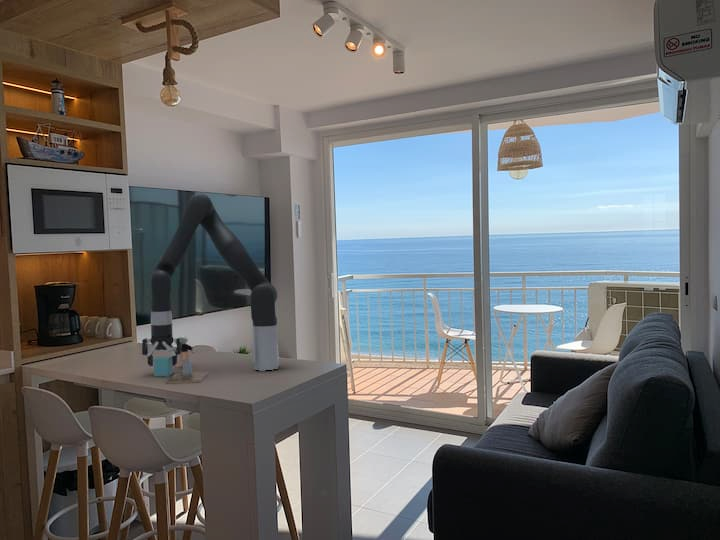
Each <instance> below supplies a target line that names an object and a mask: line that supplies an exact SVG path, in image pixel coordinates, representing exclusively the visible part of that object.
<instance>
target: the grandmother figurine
mask: <svg viewBox="0 0 720 540" xmlns="http://www.w3.org/2000/svg"><path fill="white" fill-rule="evenodd" d="M179 337H180V338H181V341H182V353H180V354H178V365H177V366H176V367H177V368H182V361H183V360H184V359H190V358H189V355H190V354H189V351H190V352H191V353H192V354H195V351H194V348H193V346H191V345H189V344H187V342H189V339H188V337H187V336H186V335H180V336H179ZM175 350H176V351H177V347H176V348H175Z"/></svg>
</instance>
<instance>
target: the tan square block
mask: <svg viewBox="0 0 720 540" xmlns="http://www.w3.org/2000/svg"><path fill="white" fill-rule="evenodd" d="M192 365H193V364H192V359H191V358H189V359H184V360H183V361H182V367H181V369H182V373H174V374H173V375H172V376H170V377H169V378H168V379H167V380H166V381H165V384H166V383H172V384H194V382H200V383H201V382H202V381H203V380H204V379H205V378H206V377H208V375H209V372H193V371H192V370H193V369H192V367H193V366H192Z"/></svg>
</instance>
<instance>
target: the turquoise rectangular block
mask: <svg viewBox="0 0 720 540" xmlns="http://www.w3.org/2000/svg"><path fill="white" fill-rule="evenodd" d="M172 356H173V355H167V356H166V355H165V356H157V357H155V358H153V373H154V376H166V377H171V375H172V374H173V373H174V370H173V368H174V366H172Z"/></svg>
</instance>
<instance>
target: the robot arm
mask: <svg viewBox="0 0 720 540" xmlns="http://www.w3.org/2000/svg"><path fill="white" fill-rule="evenodd" d="M199 225H200V226H201V227H202V228H203V229H204V230H205V232H206V233H207V234H208V236H209V238H210V239H211V242H212V244H213V245H214V248H216V250H217V252H218V253H219V255H220V256H221V258H222V259H223V260H224V262H225V263H226V264H227V266H228V267H229V268H230V269H231V270H232V271H233V272H235V274H236V275H238V277H240V278H241V279H242V280H243V281H244V283H245V284H246V285H247V286H248V288H249V291H251V293H250V317H251V320H252V339H253V340H252V341H253V370H254V369H255V370H254V371H256V370H259V371H258V372H266V371H265V370H272V371H274V370H273V369H279V368H278V366H279V367H280V360H279V358H280V356H279V354H280V353H279V342H278V317H277V315H276V302H277V299H278V291H277V289H276V288H275V286H274V285H273V284H272V283H271V282H270V281H269V280H268V278H267V277H266V276H265V275H264V274H263V273H262V272H261V270H260V269H259V267H258V266H257V263H256V262H255V260H254V259H253V258H252V256H251V254H250V253H249V252H248V250H247V248H246V247H245V245H244V244H243V243H242V241H241V240H240V239H239V238H238V237H237V235H235V233H234V232H233V231H232V230H231V229H230V228H229V227H228V226H227V225H226V223H224V221H223V220H222V218H221V216H220V215H219V214H218V212H217V210H216V208H215V206H214V204H213V202H212V200H211V198H210V197H209V196H208V195H207V194H204V193H195V194H193V195H191V196H190V197H189V199H188V201H187V204H186V207H185V209H184V213H183V216H182V218H181V220H180V223H179V225H178V227H177V229H176V231H175V232H174V235H173V236H172V238H171V240H170V242H169V244H168V245H167V247H166V248H165V250H164V252H163V254H162V257H161V259H160V261H159V262H158V264H157V265H156V267H155V269H154V270H153V272H152V273H151V274H150V285H151V301H150V304H151V305H150V306H151V307H150V308H151V310H150V338H147V337H146V338H145V337H144V338H143V339H142V342H141V343H142V345H141V346H142V347H141V354H142V356H146V357H147V365H148V366H149V367H154V356H153V354H154V353H155V352H156V350H157V351H161V350H162V351H168V352H169V353H170V354H171V356H172V366H173V367H175V366H176V365H177V364H178V356H179V354H180V353H182V341H181V338H180V337H181V336H179V337H177V338H174V337H173V314H172V300H171V294H172V293H171V292H172V291H171V290H172V278H173V276H174V273H175V272H176V270H177V268H179V266H180V265H181V263H182V261H183V259H184V258H185V257H186V256H185V255H186V254H187V253H188V250H189V248H190V245H191V242H192V239H193V237H194V235H195V232H196V230H197V229H198V227H199ZM173 343H174V344H175V345H176V348H177V351H176V348H175V346H174V345H173ZM149 344H151V345H152V347H151V348H150V349H149ZM148 349H149V351H148Z"/></svg>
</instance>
